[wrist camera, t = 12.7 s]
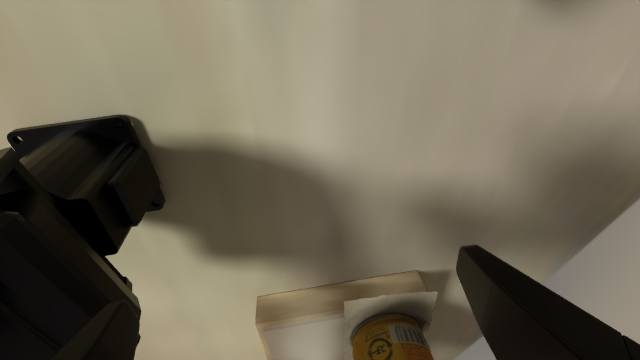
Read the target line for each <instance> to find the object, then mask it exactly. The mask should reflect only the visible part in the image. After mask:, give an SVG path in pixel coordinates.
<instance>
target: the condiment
mask: <svg viewBox="0 0 640 360" xmlns="http://www.w3.org/2000/svg"><path fill="white" fill-rule="evenodd" d="M437 294H438V291H435V292H416V293H403V294H395V295H387V296H386V295H384V294H383V295H381V296H379V297H374V298H361V299H358V300H352V301H344V360H434V359H433V357H432V354H431V351H430V349H429V346H428V344H427V342H426V338H427V333H428V330H429V325H430V322H431V320H432V313H433V309H434V305H435V302H436V299H437ZM370 313H371V314H370ZM367 315H368V317H367Z"/></svg>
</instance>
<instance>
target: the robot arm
mask: <svg viewBox="0 0 640 360" xmlns="http://www.w3.org/2000/svg"><path fill="white" fill-rule="evenodd" d="M116 121H118V122H121V123H122V124H123V126H124V127H120V126H118V125H117V122H116ZM17 136H19V137H21V138H22V139H23V141H21V140H19V139H18V137H17ZM7 139H8V141H9V143H10V144H11V146H12V147H13V149H14V150H15V151H14V150H13V149H12V148H11V147H9V148H5V149H2V150H0V360H134V356H135V350H136V347H137V345H138V343H139V341H140V334H139V325H140V324H139V321H140V315H141V308H140V305H139V301H138V298H137V297H136V296H135V295H134V294H133V293H132V283H131V282H130V281H129V280H128V278H127V277H123V276H122V275H121V274H120V273H119V272H118V271H117V269H116V268H115V267H114V266H113V265H112V264H111V263H110V262H109V260H108V259H107V258H106V257H105V256H107V255H113V254H116V253H117V252H118V251H119V249H120V247H121V245H122V243H123V242H124V240H125V238H126V236H127V235H128V233H129V231H130V229H131V227H135V226H138V224H139V223H140V221H141V220H142V218H143V216H144V214H145V212H149V211H155V210H160V209H162V208H163V206H164V204H165V199H164V196H163V194H162V192H161V190H160V187H159V186H160V184H161V183H160V181H159V178H158V176H157V174H156V171H155V169H154V167H153V165H152V162H151V160H150V158H149V155H148V153H147V151H146V150H145V149H144V148H142V147H141V145H140V142H139V140H138V138H137V136H136V133H135V131H134V129H133V127H132V124H131V122H130V121H129V119H128V118H127V117H125V116H123V115H112V116H105V117H98V118H91V119H84V120H77V121H70V122H63V123H56V124H49V125H41V126H34V127H27V128H20V129H16V130H13V131H12V132H10V133H9V134H8V135H7ZM154 201H157V202H159V204H157V203H154ZM456 271H457V275H458V278H459V280H460V282H461V285H462V287H463V290H464V292H465V294H466V297H467V299H468V302H469V304H470V306H471V309H472V311H473V314H474V316H475V318H476V321H477V323H478V325H479V327H480V329H481V331H482V333H483V335H484V337H485V339H486V341H487V343H488V344H489V346H490V348H491V350H492V352H493V353H494V355H495V357H496V359H497V360H640V344H638V343H636V342H635V341H633V340H631V339H630V338H628V337H626V336H624V335H623V336H622V335H621V333H620V332H618V331H617V330H615V329H613V328H612V327H610V326H608V325H607V324H605V323H604V322H602V321H600V320H599V319H597V318H595V317H594V316H592V315H590V314H589V313H587V312H586V311H584V310H582V309H581V308H579V307H577V306H576V305H574V304H573V303H571V302H569V301H568V300H566V299H564V298H563V297H561V296H560V295H558V294H556V293H555V292H553V291H551V290H550V289H548V288H546V287H545V286H543V285H542V284H540V283H538V282H537V281H535V280H534V279H532V278H530V277H529V276H527V275H525V274H524V273H522V272H521V271H519V270H517V269H516V268H514V267H512V266H511V265H509V264H507V263H506V262H504V261H503V260H501V259H499V258H498V257H496V256H494V255H493V254H491V253H490V252H488V251H486V250H485V249H483V248H481V247H480V246H478V245H474V244H473V245H467V246H462V247H461V248H460V250H459V254H458V260H457V265H456Z"/></svg>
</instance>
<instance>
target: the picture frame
mask: <svg viewBox="0 0 640 360" xmlns="http://www.w3.org/2000/svg"><path fill="white" fill-rule="evenodd" d="M416 292H427V290H426V288H425V286H424V284H423V282H422V280H421V278H420V276H419V274H418V272H417V270H416V271H410V272H404V273H398V274H392V275H386V276H380V277H374V278H368V279H362V280H356V281H350V282H344V283H339V284H333V285H327V286H321V287H315V288H309V289H303V290H297V291H291V292H285V293H279V294H273V295H267V296H261V297H257V306H256V327H257V330H258V333H259V336H260V339H261V341H262V344H263V347H264V350H265V353H266V356H267V359H268V360H344V301H352V300H358V299H361V298H374V297H379V296H381V295H383V294H384V295H386V296H387V295H395V294H403V293H416ZM370 314H371V313H370ZM367 317H368V315H367Z"/></svg>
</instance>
